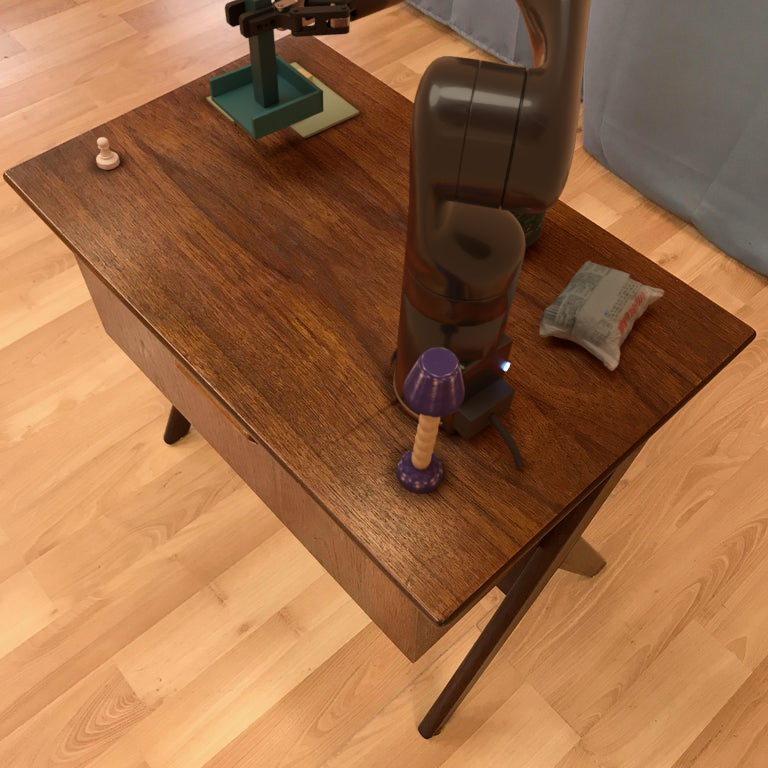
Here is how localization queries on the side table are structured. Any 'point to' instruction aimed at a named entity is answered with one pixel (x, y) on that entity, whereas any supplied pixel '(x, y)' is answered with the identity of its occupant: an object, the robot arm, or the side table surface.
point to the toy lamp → (429, 415)
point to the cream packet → (306, 74)
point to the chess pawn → (106, 155)
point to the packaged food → (598, 310)
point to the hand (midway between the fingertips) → (235, 21)
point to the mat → (332, 114)
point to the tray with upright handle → (265, 88)
